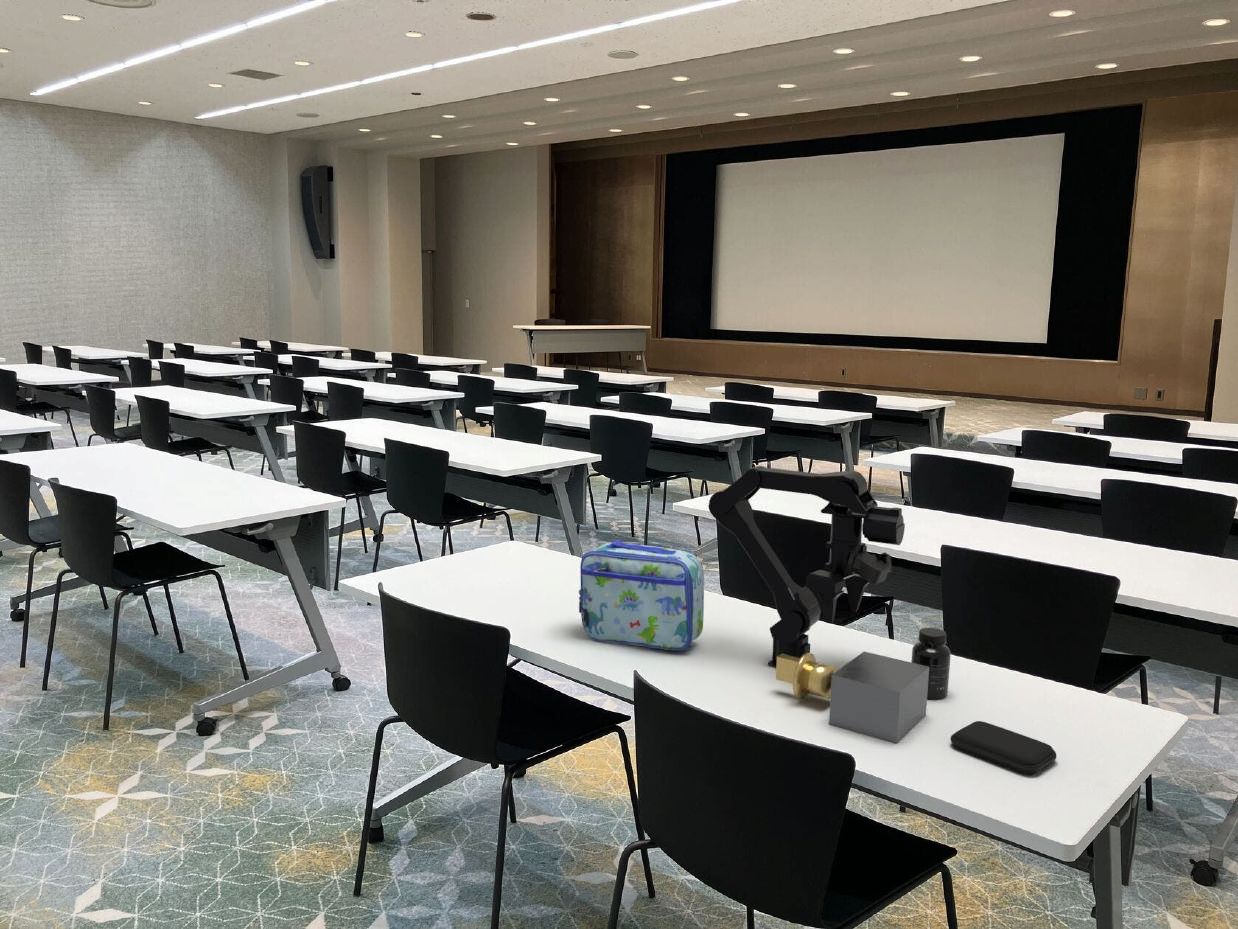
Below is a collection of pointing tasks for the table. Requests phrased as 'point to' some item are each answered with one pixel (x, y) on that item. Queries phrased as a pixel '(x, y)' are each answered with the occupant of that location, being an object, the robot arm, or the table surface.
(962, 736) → the carrying case or bag
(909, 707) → the block
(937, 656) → the supplement bottle
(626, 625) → the lunch box
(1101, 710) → the table surface
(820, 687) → the end cover
